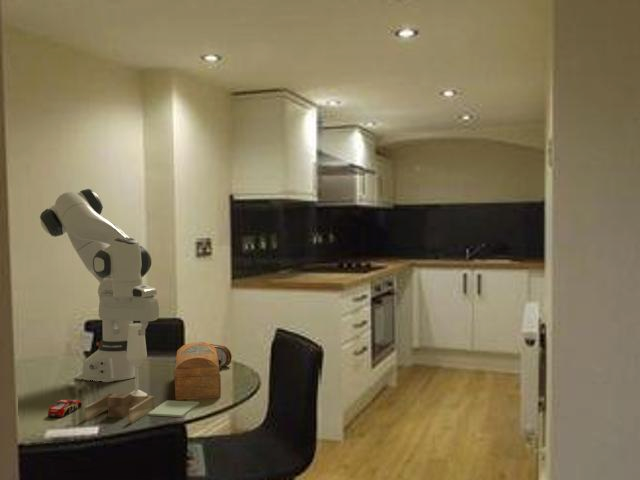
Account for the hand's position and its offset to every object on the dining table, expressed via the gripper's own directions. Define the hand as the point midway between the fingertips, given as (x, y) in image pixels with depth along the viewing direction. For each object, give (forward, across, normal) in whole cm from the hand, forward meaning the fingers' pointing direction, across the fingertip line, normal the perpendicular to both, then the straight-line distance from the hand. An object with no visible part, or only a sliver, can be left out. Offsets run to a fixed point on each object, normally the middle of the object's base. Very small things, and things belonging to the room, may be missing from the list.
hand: (128, 334), depth 193 cm
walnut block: (+24, 0, -6) cm, 24 cm away
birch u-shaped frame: (+23, 0, -6) cm, 24 cm away
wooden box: (+24, +6, +30) cm, 39 cm away
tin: (+24, -5, +62) cm, 67 cm away
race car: (+24, -18, -9) cm, 31 cm away
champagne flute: (+24, -8, +14) cm, 29 cm away
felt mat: (+24, +13, +5) cm, 27 cm away
